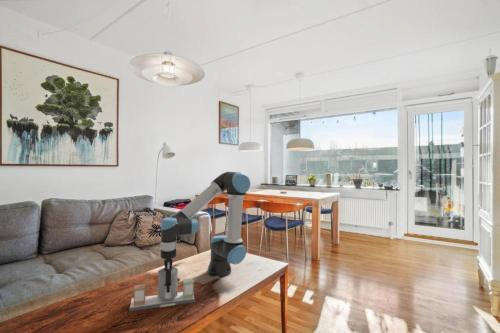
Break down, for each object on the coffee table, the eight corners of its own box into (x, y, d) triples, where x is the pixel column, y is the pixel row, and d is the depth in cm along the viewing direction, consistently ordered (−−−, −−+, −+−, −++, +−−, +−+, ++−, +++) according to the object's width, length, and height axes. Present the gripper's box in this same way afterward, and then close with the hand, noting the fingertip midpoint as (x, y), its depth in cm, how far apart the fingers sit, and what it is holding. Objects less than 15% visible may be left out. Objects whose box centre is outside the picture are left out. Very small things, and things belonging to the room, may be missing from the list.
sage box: (192, 293, 137) (192, 278, 136) (193, 297, 133) (193, 282, 132) (182, 295, 135) (183, 279, 135) (183, 299, 131) (183, 283, 131)
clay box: (145, 300, 129) (145, 284, 129) (144, 304, 126) (145, 288, 125) (134, 301, 128) (134, 285, 128) (133, 305, 124) (133, 289, 124)
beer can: (180, 291, 135) (181, 268, 135) (171, 301, 126) (172, 276, 126) (164, 289, 137) (164, 266, 137) (153, 298, 128) (154, 274, 128)
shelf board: (192, 292, 140) (192, 288, 140) (195, 304, 129) (195, 299, 129) (132, 300, 131) (132, 295, 131) (128, 314, 120) (128, 308, 119)
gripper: (161, 242, 141) (160, 283, 141) (160, 257, 120) (159, 305, 120) (175, 241, 143) (174, 282, 143) (177, 256, 122) (176, 303, 122)
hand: (167, 292), depth 132 cm, fingers closed on beer can, 9 cm apart
